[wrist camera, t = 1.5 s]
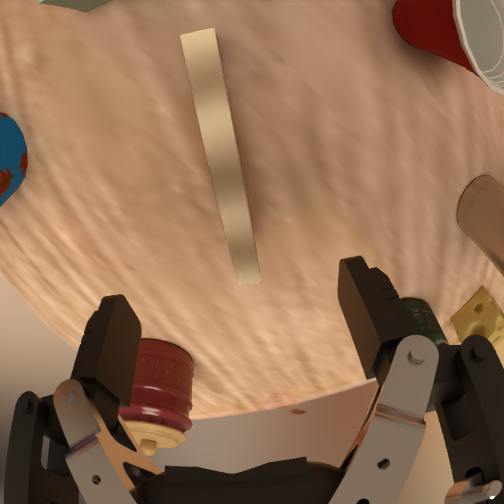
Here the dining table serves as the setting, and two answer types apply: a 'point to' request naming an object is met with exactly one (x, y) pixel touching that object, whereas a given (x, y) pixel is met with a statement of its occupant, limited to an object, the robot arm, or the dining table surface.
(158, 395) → the canister
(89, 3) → the sage green notched block
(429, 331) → the coffee jar
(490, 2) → the plastic cup
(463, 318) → the cheese
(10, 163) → the thermos
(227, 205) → the brass bar
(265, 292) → the dining table surface
